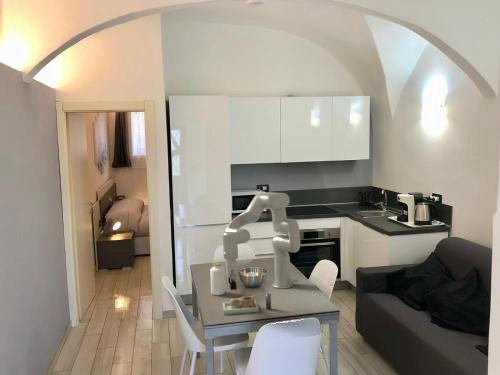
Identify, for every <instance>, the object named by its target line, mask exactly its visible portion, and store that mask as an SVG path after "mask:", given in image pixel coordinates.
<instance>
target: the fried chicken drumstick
mask: <svg viewBox="0 0 500 375" xmlns="http://www.w3.org/2000/svg"><path fill="white" fill-rule="evenodd" d="M254 300H255V299H254V296H253V295H250V296H248V295H247V296H241V297H237V298H236V297H235V298H230V302H231V309H241V308H254V307H255V303H254Z"/></svg>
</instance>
